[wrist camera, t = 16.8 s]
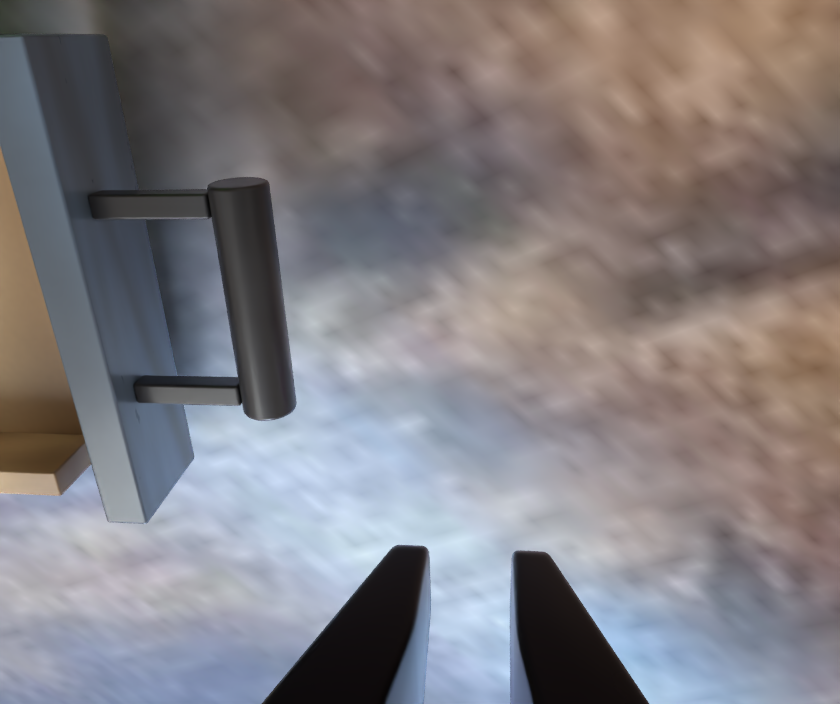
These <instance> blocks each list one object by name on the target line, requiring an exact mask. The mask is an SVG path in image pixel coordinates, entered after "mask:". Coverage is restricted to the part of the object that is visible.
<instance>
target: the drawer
mask: <svg viewBox="0 0 840 704" xmlns="http://www.w3.org/2000/svg"><path fill="white" fill-rule="evenodd" d="M211 217H212V222H213V228H214V234H215V240H216V246H217V252H218V258H219V264H220V270H221V277H222V283H223V289H224V295H225V301H226V307H227V313H228V319H229V325H230V331H231V338H232V344H233V350H234V356H235V362H236V368H237V374H238V377H201V376H177V371H176V366H175V361H174V357H173V352H172V347H171V342H170V337H169V332H168V328H167V323H166V318H165V313H164V308H163V303H162V299H161V294H160V289H159V284H158V279H157V274H156V270H155V265H154V260H153V255H152V250H151V245H150V241H149V236H148V231H147V226H146V221H145V219H209V218H211ZM241 403H242V405H243V410H244V413H245V414H246V415H247V416H248V417H249V418H251V419H254V420H260V421H268V420H275V419H279V418H282V417H284V416H286V415H288V414H290V413H291V412H292V411H293V410H294V409H295V407H296V395H295V387H294V379H293V371H292V363H291V355H290V347H289V338H288V330H287V322H286V314H285V306H284V298H283V290H282V282H281V274H280V266H279V258H278V250H277V242H276V234H275V226H274V218H273V210H272V202H271V194H270V186H269V182H268V181H267V180H265V179H262V178H256V177H240V178H229V179H223V180H218V181H215V182H213V183H210V184H209V185H208V187H207V189H186V190H139V188H138V183H137V178H136V173H135V168H134V163H133V159H132V154H131V149H130V144H129V139H128V134H127V130H126V125H125V120H124V115H123V110H122V105H121V101H120V96H119V91H118V86H117V81H116V76H115V72H114V67H113V62H112V57H111V52H110V47H109V43H108V38H107V36H106V35H104V34H0V493H10V494H33V495H56V496H60V495H62V494H63V493H64V492H65V491H66V490H67V489H68V488H69V487H70V486H71V485H72V484H73V483H74V482H75V481H76V480H77V478H78V477H79V476H80V475H81V474H82V473H83V472H84V471H85V470H86V469H87V468H88V467H89V466H90V465H92V468H93V472H94V475H95V479H96V482H97V486H98V489H99V493H100V496H101V500H102V503H103V507H104V510H105V514H106V517H107V520H108V522H119V523H140V524H146V523H148V522H149V520H150V519H151V517H152V516H153V515H154V513H155V512H156V510H157V509H158V508H159V506H160V505H161V504H162V502H163V501H164V499H165V498H166V497H167V495H168V494H169V492H170V491H171V490H172V488H173V487H174V485H175V484H176V483H177V481H178V480H179V479H180V477H181V476H182V474H183V473H184V472H185V470H186V469H187V467H188V466H189V465H190V463H191V462H192V461H193V459H194V453H193V448H192V444H191V439H190V434H189V429H188V424H187V419H186V415H185V410H184V405H183V404H192V405H229V406H239V405H241Z"/></svg>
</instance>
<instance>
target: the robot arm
mask: <svg viewBox="0 0 840 704" xmlns="http://www.w3.org/2000/svg"><path fill="white" fill-rule="evenodd" d="M430 613H431V589H430V558H429V551H428V549H427V548H426V547H425V546H413V545H396V546H394V547H393V548H392V549H391V550H390V551H389V552H388V553H387V555H386V556H385V557H384V558H383V559H382V561H381V562H380V563H379V564H378V565H377V566H376V568H375V569H374V570H373V571H372V572H371V574H370V575H369V576H368V577H367V578H366V580H365V581H364V582H363V583H362V584H361V586H360V587H359V588H358V589H357V590H356V592H355V593H354V594H353V595H352V596H351V598H350V599H349V600H348V601H347V602H346V604H345V605H344V606H343V607H342V608H341V610H340V611H339V612H338V613H337V614H336V616H335V617H334V618H333V619H332V620H331V622H330V623H329V624H328V625H327V626H326V627H325V629H324V630H323V631H322V632H321V633H320V635H319V636H318V637H317V638H316V639H315V641H314V642H313V643H312V644H311V645H310V647H309V648H308V649H307V650H306V651H305V653H304V654H303V655H302V656H301V657H300V659H299V660H298V661H297V662H296V663H295V665H294V666H293V667H292V668H291V669H290V671H289V672H288V673H287V674H286V675H285V677H284V678H283V679H282V680H281V681H280V682H279V684H278V685H277V686H276V687H275V688H274V690H273V691H272V692H271V693H270V694H269V696H268V697H267V698H266V699H265V700H264V702H263V703H262V704H424V692H425V679H426V666H427V653H428V640H429V627H430ZM510 698H511V704H649V703H648V701H647V700H646V698H645V697H644V695H643V694H642V692H641V691H640V689H639V688H638V686H637V685H636V683H635V682H634V680H633V679H632V677H631V676H630V674H629V673H628V671H627V670H626V668H625V667H624V665H623V664H622V662H621V661H620V660H619V658H618V657H617V655H616V654H615V652H614V651H613V649H612V648H611V646H610V645H609V643H608V642H607V640H606V639H605V637H604V636H603V634H602V633H601V631H600V630H599V628H598V627H597V625H596V624H595V622H594V621H593V619H592V618H591V616H590V615H589V613H588V612H587V610H586V609H585V607H584V606H583V604H582V603H581V601H580V600H579V598H578V597H577V595H576V594H575V592H574V591H573V589H572V588H571V586H570V585H569V583H568V582H567V580H566V579H565V577H564V576H563V574H562V573H561V571H560V570H559V568H558V567H557V565H556V564H555V562H554V561H553V559H552V558H551V557H550V555H549V554H547V553H545V552H538V551H515V552H514V553H513V555H512V565H511V593H510Z"/></svg>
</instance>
